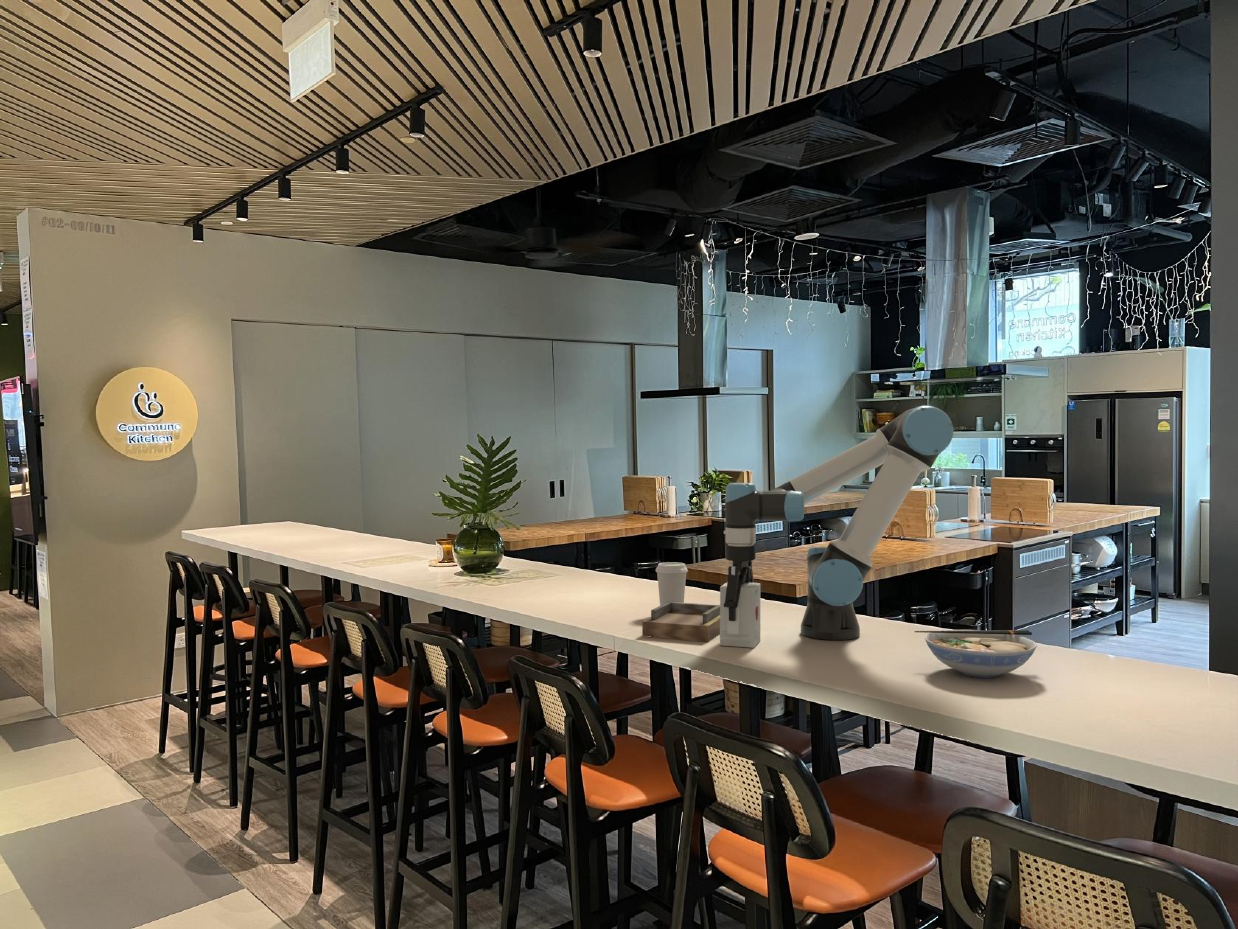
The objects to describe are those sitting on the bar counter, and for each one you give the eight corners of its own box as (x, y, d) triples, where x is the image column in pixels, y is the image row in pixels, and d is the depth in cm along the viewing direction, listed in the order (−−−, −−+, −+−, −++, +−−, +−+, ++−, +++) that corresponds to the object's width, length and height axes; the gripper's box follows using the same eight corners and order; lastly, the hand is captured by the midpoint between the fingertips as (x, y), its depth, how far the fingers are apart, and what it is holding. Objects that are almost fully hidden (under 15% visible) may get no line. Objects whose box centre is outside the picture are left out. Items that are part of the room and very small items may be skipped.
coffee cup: (688, 612, 270) (688, 562, 269) (687, 618, 260) (687, 566, 260) (656, 611, 270) (656, 561, 270) (654, 617, 261) (654, 566, 261)
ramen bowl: (930, 686, 186) (930, 646, 186) (910, 659, 208) (910, 624, 208) (1058, 690, 182) (1058, 649, 182) (1023, 662, 205) (1023, 627, 205)
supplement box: (755, 648, 221) (754, 587, 220) (719, 646, 224) (719, 586, 223) (761, 641, 229) (761, 582, 229) (726, 638, 232) (726, 580, 232)
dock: (728, 628, 245) (728, 604, 245) (708, 642, 228) (708, 616, 228) (665, 623, 252) (665, 600, 252) (642, 636, 235) (642, 611, 235)
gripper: (739, 539, 239) (739, 618, 239) (711, 549, 216) (711, 637, 216) (766, 540, 236) (767, 620, 236) (741, 550, 213) (742, 639, 213)
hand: (740, 628), depth 226 cm, fingers open, 13 cm apart
